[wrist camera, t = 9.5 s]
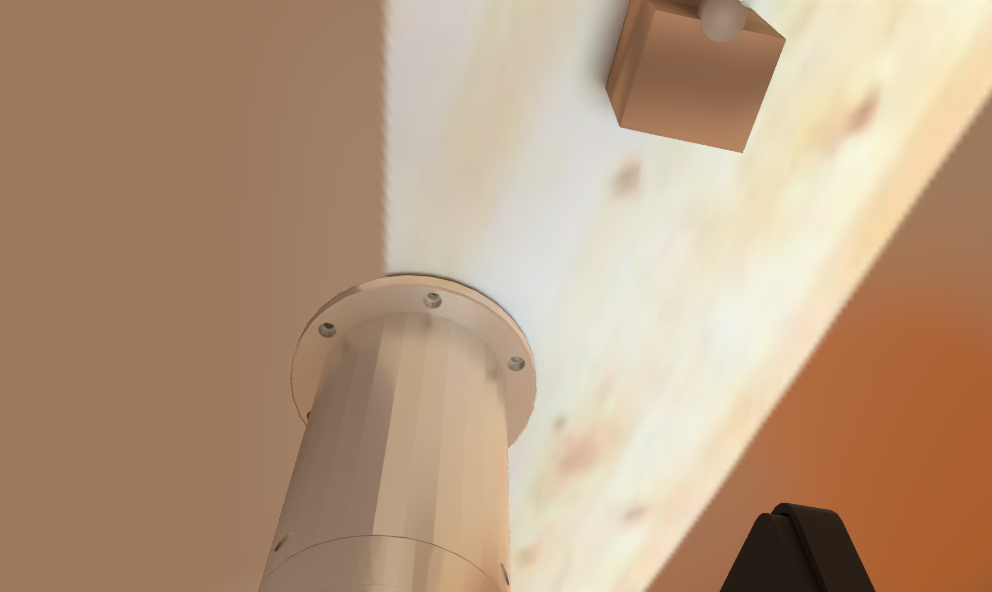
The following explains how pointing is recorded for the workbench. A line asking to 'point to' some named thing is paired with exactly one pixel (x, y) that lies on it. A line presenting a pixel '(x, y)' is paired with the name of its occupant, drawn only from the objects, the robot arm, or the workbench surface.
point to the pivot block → (693, 70)
